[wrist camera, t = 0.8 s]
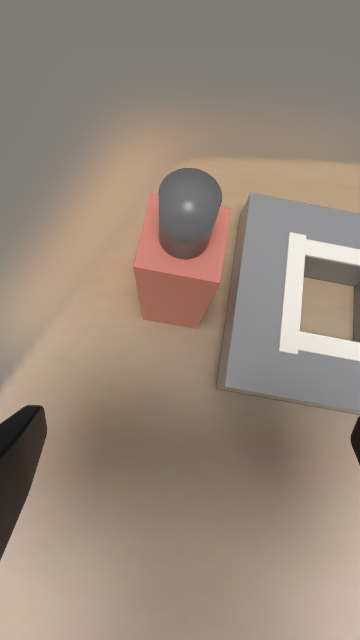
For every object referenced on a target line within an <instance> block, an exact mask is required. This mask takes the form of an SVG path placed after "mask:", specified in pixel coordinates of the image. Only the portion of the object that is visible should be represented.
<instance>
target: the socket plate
mask: <svg viewBox="0 0 360 640" xmlns="http://www.w3.org/2000/svg"><path fill="white" fill-rule="evenodd" d="M304 277H309V278H314V279H319V280H324V281H330V282H335V283H340V284H345V285H351V286H355V293H354V334H353V341H349V340H343V339H338V338H333V337H327V336H322V335H316V334H311V333H306V332H300V319H301V305H302V291H303V278H304ZM216 389H221V390H226V391H232V392H237V393H243V394H248V395H254V396H259V397H265V398H270V399H276V400H281V401H287V402H292V403H298V404H303V405H308V406H314V407H319V408H325V409H330V410H336V411H341V412H347V413H352V414H358V415H360V214H358V213H353V212H347V211H342V210H337V209H332V208H327V207H322V206H317V205H312V204H307V203H301V202H296V201H291V200H286V199H281V198H276V197H271V196H266V195H260V194H255V193H250V195H249V197H248V200H247V202H246V204H245V207H244V209H243V211H242V213H241V216H240V221H239V228H238V235H237V243H236V250H235V257H234V264H233V271H232V278H231V286H230V293H229V300H228V307H227V314H226V321H225V328H224V336H223V343H222V350H221V357H220V364H219V371H218V379H217V386H216Z"/></svg>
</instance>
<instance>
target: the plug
mask: <svg viewBox="0 0 360 640" xmlns="http://www.w3.org/2000/svg"><path fill="white" fill-rule="evenodd" d="M221 202H222V192H221V189H220V186H219V184H218V183H217V181H216V180H215V179H214V178H213V177H212V176H211V175H209V174H208V173H206V172H204V171H202V170H199V169H194V168H183V169H179V170H176V171H173V172H172V173H170V174H169V175H167V176H166V177H165V178H164V180H163V181H162V183H161V185H160V188H159V194H157V193H150V198H149V202H148V206H147V210H146V215H145V219H144V223H143V228H142V232H141V236H140V240H139V245H138V249H137V253H136V257H135V262H134V266H133V268H134V273H135V278H136V283H137V289H138V294H139V299H140V304H141V310H142V315H143V319H147V320H152V321H157V322H163V323H168V324H174V325H179V326H184V327H190V328H195V329H197V328H198V326H199V324H200V322H201V320H202V318H203V316H204V314H205V312H206V310H207V308H208V306H209V304H210V302H211V300H212V298H213V296H214V294H215V292H216V290H217V288H218V286H219V285H220V281H221V275H222V268H223V261H224V255H225V248H226V241H227V234H228V228H229V221H230V214H231V208H229V207H224V206H221Z"/></svg>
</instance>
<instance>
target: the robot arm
mask: <svg viewBox="0 0 360 640" xmlns="http://www.w3.org/2000/svg"><path fill="white" fill-rule="evenodd" d="M46 435H47V425H46V418H45V412H44V408H43V406H41V405H27V406H25V407H23V408H22V409H21V410H19V411H18V412H16V413H15V414H13V415H12V416H11V417H9V418H8V419H6V420H5V421H3V422H2V423H1V424H0V560H1V558H2V555H3V553H4V551H5V548H6V546H7V543H8V541H9V539H10V536H11V534H12V532H13V529H14V527H15V525H16V522H17V520H18V517H19V515H20V513H21V510H22V508H23V506H24V503H25V501H26V498H27V496H28V493H29V491H30V488H31V485H32V481H33V478H34V475H35V472H36V468H37V465H38V462H39V458H40V455H41V452H42V448H43V445H44V442H45V439H46ZM351 444H352V447H353V449H354V452H355V454H356V457H357V459H358V462H359V464H360V417H358V419H357V422H356V424H355V427H354V429H353V432H352V434H351Z"/></svg>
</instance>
